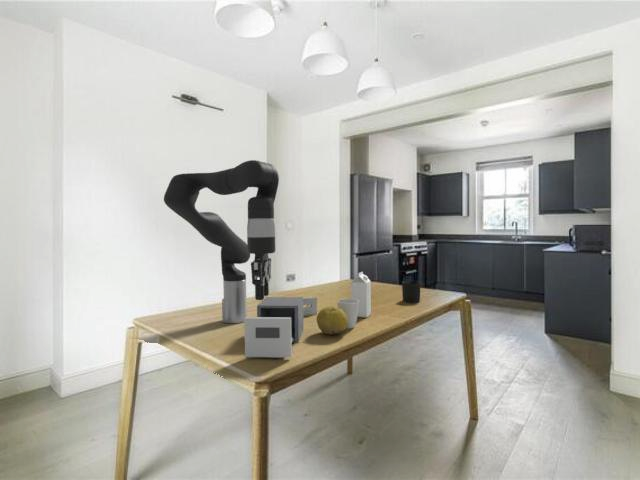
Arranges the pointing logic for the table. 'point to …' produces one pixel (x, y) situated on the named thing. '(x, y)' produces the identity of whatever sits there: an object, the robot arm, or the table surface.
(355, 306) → the cup
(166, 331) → the table surface
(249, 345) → the grey flat-panelled piece
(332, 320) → the fruit
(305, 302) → the cassette
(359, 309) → the milk carton
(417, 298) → the pen holder
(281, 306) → the grey open box
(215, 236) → the robot arm
